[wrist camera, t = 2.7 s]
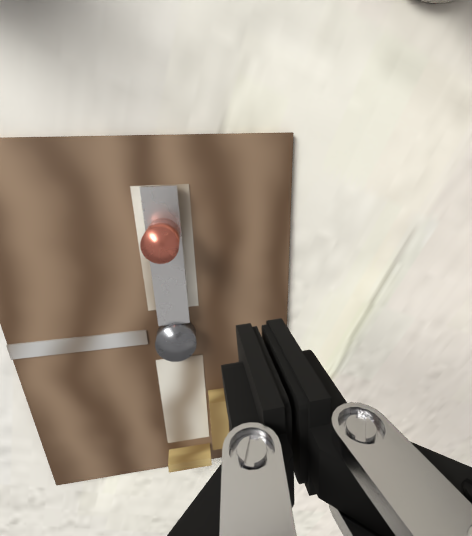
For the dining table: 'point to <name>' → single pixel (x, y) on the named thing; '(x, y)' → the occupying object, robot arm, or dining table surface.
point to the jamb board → (135, 289)
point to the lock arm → (167, 271)
